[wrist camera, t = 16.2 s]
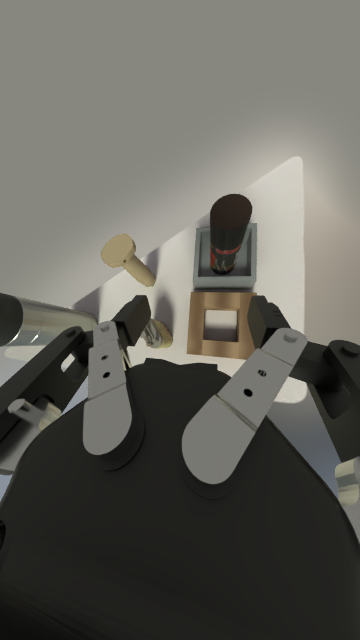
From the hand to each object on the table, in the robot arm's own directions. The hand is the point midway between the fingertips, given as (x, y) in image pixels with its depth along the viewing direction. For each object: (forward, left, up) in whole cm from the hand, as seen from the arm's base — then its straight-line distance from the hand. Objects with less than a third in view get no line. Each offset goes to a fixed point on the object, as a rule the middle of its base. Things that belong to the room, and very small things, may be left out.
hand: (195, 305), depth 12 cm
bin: (+3, +17, -25) cm, 30 cm away
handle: (-16, +12, -25) cm, 32 cm away
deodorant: (+3, +16, -24) cm, 30 cm away
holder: (+3, +1, -25) cm, 25 cm away
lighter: (-11, -2, -25) cm, 27 cm away
